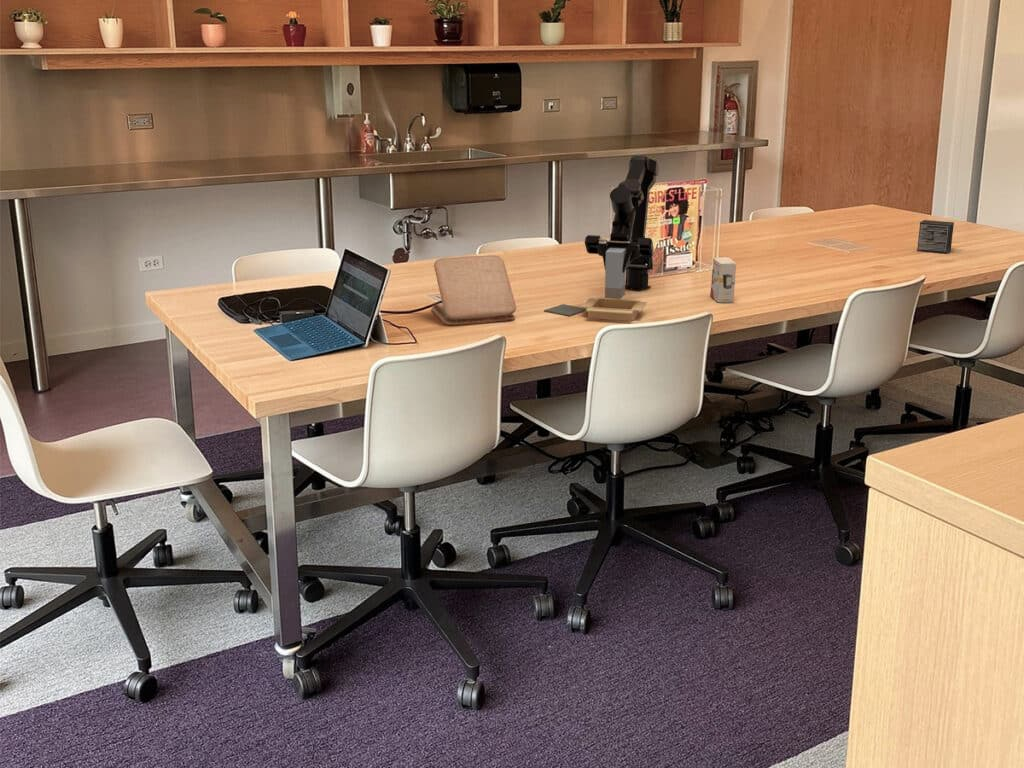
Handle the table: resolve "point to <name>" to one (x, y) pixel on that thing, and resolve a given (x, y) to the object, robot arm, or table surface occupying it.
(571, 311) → the mat
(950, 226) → the small box
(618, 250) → the slate box
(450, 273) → the case
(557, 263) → the table surface
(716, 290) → the ink box
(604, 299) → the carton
